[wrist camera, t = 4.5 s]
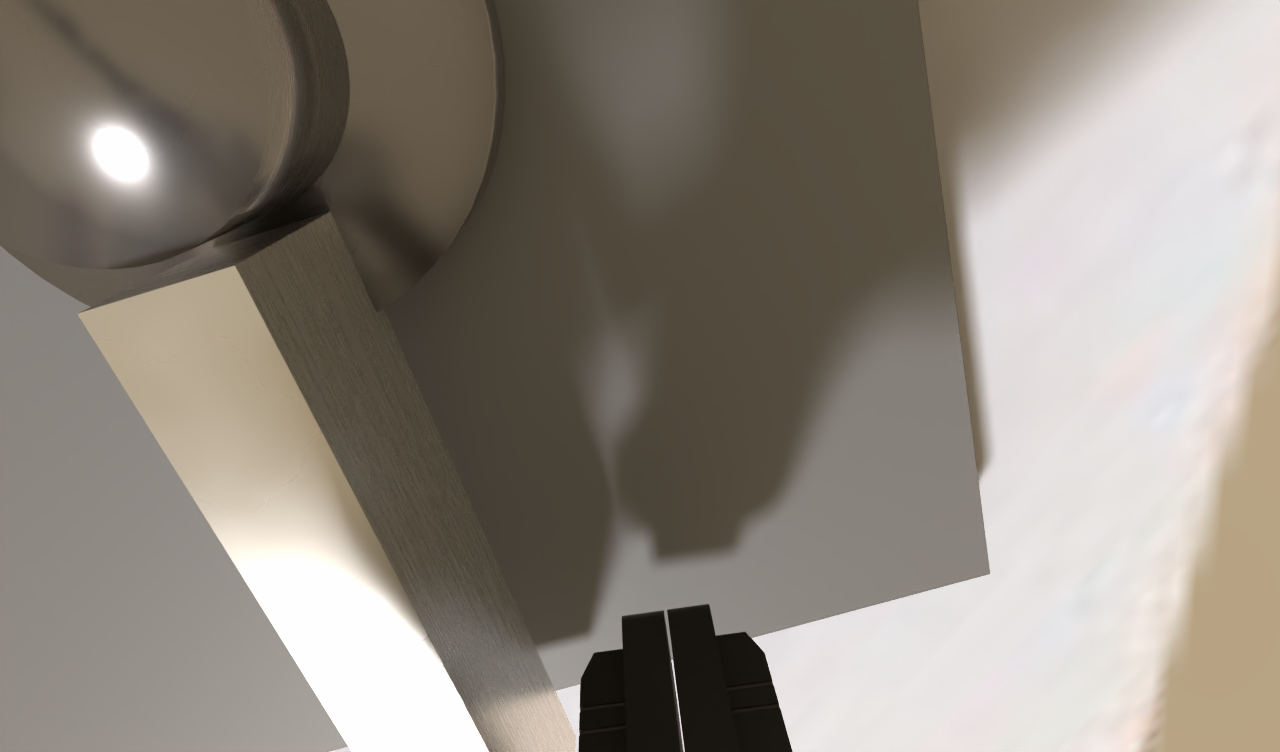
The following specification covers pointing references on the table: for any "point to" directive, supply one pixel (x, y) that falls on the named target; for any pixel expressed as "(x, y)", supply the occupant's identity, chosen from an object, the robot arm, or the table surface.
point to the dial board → (563, 382)
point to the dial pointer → (288, 315)
